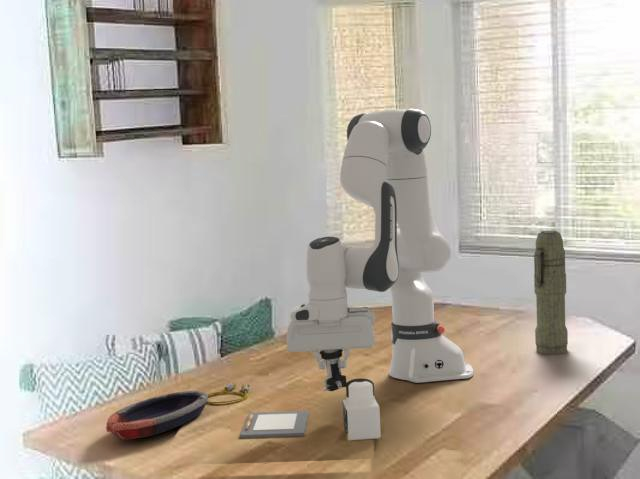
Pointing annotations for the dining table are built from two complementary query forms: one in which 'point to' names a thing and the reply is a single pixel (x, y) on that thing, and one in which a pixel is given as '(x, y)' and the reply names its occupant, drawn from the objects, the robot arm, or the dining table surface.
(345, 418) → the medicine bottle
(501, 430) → the dining table surface
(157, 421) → the dish
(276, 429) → the grey board
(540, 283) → the thermos
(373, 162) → the robot arm
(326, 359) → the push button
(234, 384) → the extension cord
